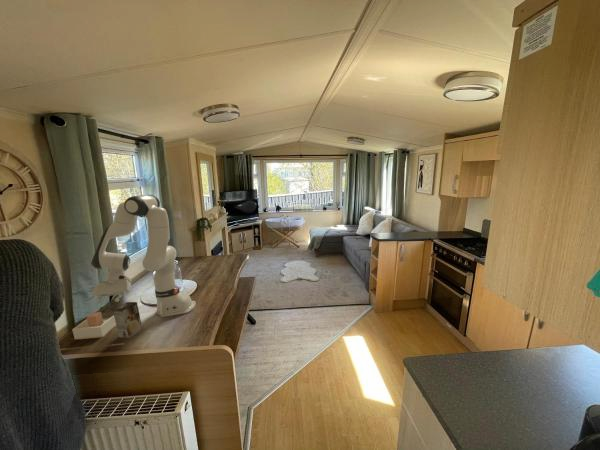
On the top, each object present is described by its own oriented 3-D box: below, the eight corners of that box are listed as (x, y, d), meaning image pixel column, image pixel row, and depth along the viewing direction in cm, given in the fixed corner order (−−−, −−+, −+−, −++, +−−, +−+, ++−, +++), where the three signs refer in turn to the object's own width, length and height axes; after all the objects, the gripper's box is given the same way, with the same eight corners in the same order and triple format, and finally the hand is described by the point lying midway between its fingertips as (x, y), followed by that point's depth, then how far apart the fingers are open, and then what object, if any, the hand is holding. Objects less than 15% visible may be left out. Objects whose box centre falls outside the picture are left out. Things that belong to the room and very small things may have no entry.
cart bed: (118, 324, 150) (116, 313, 148) (103, 338, 137) (100, 326, 136) (92, 326, 149) (90, 316, 148) (75, 340, 136) (72, 329, 135)
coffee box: (132, 328, 145) (127, 301, 142) (142, 329, 143) (137, 301, 140) (118, 338, 136) (112, 309, 133) (128, 339, 134) (123, 310, 131)
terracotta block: (104, 326, 145) (101, 311, 143) (98, 331, 141) (95, 316, 139) (95, 327, 145) (92, 312, 143) (90, 332, 140) (86, 317, 139)
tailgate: (118, 322, 150) (123, 318, 154) (118, 321, 150) (123, 316, 154) (92, 325, 149) (98, 320, 154) (92, 323, 149) (98, 318, 153)
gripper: (93, 279, 157) (85, 302, 149) (128, 275, 158) (122, 298, 150) (100, 283, 162) (93, 306, 154) (134, 280, 163) (129, 301, 155)
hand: (108, 302), depth 152 cm, fingers open, 8 cm apart
